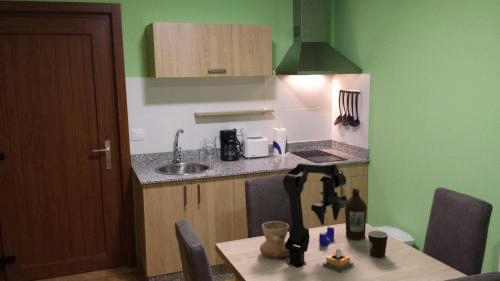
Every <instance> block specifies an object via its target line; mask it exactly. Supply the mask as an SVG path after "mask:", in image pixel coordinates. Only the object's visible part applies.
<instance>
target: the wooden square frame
mask: <svg viewBox="0 0 500 281" xmlns="http://www.w3.org/2000/svg"><path fill="white" fill-rule="evenodd" d="M325 259H326V260H325V262H326V263H329V264H331V265H334V266H337V267H342V266H344V265H346V264H348V263H350V262H351V257H350V256H347V255H345V254H342V253H341V259H340V260H338V259H336V252H335V253H333V254H331V255H328V256H326V258H325Z"/></svg>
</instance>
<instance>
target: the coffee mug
mask: <svg viewBox="0 0 500 281" xmlns="http://www.w3.org/2000/svg"><path fill="white" fill-rule="evenodd" d="M388 235H389V234H388V233H387V232H386V231H382V230H371V231H368V232H367V237H368V239H367V240H368V245H369V246H368V247H369V248H368V249H369V256H370V257H371V258H375V259H381V258H382V259H384V258H385V257H386V250H387V243H388V238H389V236H388Z"/></svg>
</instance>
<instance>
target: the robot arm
mask: <svg viewBox="0 0 500 281" xmlns="http://www.w3.org/2000/svg"><path fill="white" fill-rule="evenodd" d="M301 173H302V174H301ZM299 174H301V176H300V175H299ZM309 174H319V175H322V177H320V179H319V182H320V183H322V191H320V195H322V199H321V200H320V202H317V203H313V204H311V206H310V210H311V211H312V212H313V213H315V215H316V216H317V218H318V221H319V222H320V224H321V226H324V224H325V214H326V213H327V208H329V207H331V209H332V210H331V211H332V216H333V220H334V221H337V220H338V217H339V214H340V211H341V209H345V205H346V204H347V201H348V197H347V196H346V195H343V196H339V195H338V192H337V191H336V189H337V188H341V187H343V186H345V185H346V184H347V178H346V176H345V175H344V174H343V171H339V169H338V167H337V164H336V163H329V162H320V163H318V164H313V163H303V162H299V163H298V164H297V165H296V166H295V167H294V168H292V169H290V170H289V171H288V172H287V173H286V175H285V176H283V179H282V186H283V188H284V191H285V192H286V194H287V195H288V202H289V210H290V212H289V213H290V220H291V228H290V230H289V231H288V236H289V237H288V238H287V240H286V244H285V249H288V250H290V251H289V255H288V261H286V262H285V263H286V264H287V265H289V266H292V267H294V268H300V267H302V266H305V265H307V263H308V262H307V261H305V253H306V252H308V249H309V244H310V238H311V236H310V230H309V228H308V227H305V226H304V218H303V217H304V216H303V208H302V206H303V205H302V196H301V194H302V193H303V191H304V187H305V183H306V182H307V180H308V175H309Z"/></svg>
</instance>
